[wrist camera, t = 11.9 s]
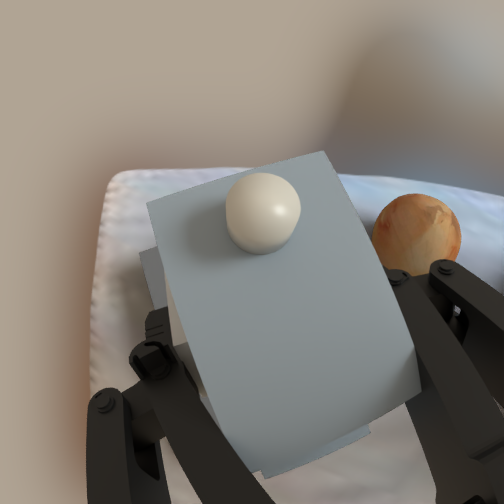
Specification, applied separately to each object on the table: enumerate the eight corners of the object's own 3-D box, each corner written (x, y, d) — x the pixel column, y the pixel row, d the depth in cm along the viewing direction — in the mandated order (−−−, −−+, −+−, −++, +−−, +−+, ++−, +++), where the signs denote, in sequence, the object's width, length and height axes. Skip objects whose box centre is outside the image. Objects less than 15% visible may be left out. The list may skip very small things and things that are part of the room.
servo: (337, 414, 16) (470, 479, 5) (257, 447, 15) (291, 577, 4) (258, 216, 20) (284, 59, 8) (181, 242, 19) (120, 100, 7)
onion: (368, 301, 33) (414, 280, 23) (351, 216, 35) (385, 172, 26) (436, 289, 33) (488, 267, 24) (417, 213, 36) (460, 175, 27)
